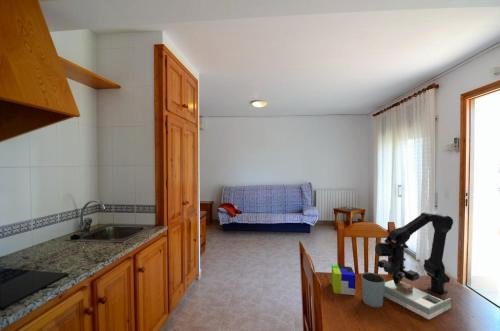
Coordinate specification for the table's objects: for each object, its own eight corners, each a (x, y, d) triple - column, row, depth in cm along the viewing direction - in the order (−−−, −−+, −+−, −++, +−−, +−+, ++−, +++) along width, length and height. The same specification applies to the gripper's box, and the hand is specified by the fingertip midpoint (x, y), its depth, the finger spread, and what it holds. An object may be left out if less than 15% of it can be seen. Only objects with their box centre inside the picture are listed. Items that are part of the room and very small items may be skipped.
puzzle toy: (355, 295, 121) (355, 275, 121) (334, 293, 123) (334, 273, 123) (351, 285, 131) (351, 266, 131) (331, 283, 133) (331, 265, 133)
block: (402, 287, 125) (402, 281, 125) (412, 292, 120) (412, 286, 120) (396, 290, 122) (396, 283, 122) (406, 295, 118) (406, 288, 118)
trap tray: (394, 282, 134) (394, 274, 134) (450, 308, 111) (451, 298, 111) (373, 290, 126) (373, 281, 126) (428, 319, 103) (429, 309, 103)
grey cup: (383, 299, 118) (384, 274, 117) (385, 311, 108) (386, 284, 108) (360, 294, 122) (361, 270, 122) (360, 305, 113) (361, 279, 112)
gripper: (370, 252, 129) (369, 281, 130) (406, 265, 113) (405, 299, 113) (384, 248, 134) (383, 276, 135) (420, 261, 118) (419, 293, 118)
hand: (396, 285), depth 125 cm, fingers closed
